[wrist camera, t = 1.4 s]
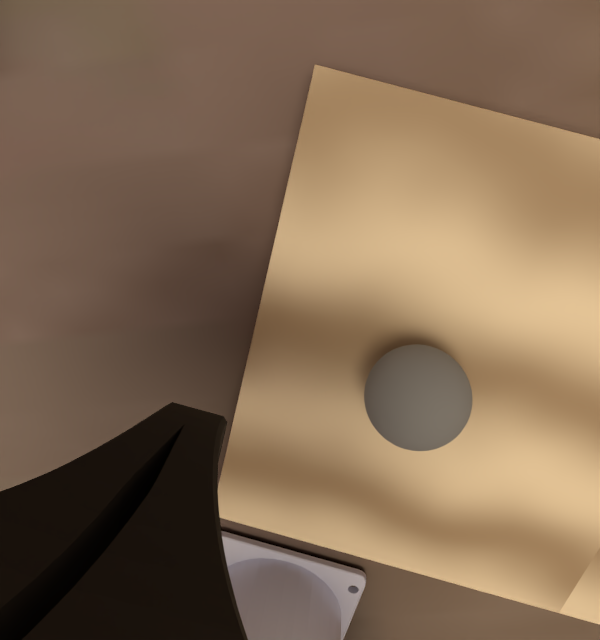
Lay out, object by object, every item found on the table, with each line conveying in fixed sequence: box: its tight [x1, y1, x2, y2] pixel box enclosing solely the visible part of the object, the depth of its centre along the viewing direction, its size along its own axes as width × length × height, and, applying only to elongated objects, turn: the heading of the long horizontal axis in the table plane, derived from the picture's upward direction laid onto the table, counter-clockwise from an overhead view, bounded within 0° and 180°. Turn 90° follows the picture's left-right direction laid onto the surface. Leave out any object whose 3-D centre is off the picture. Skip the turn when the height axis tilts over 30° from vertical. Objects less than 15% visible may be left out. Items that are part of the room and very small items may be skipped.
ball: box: [364, 344, 472, 451], centre depth 16 cm, size 4×4×4 cm
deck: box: [218, 65, 600, 624], centre depth 19 cm, size 18×26×2 cm
